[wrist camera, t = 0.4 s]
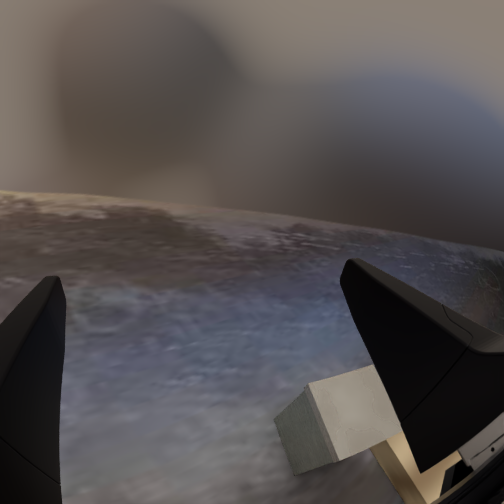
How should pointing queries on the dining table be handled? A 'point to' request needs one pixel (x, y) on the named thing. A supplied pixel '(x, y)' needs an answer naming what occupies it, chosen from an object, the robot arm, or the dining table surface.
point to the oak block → (411, 470)
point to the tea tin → (336, 419)
